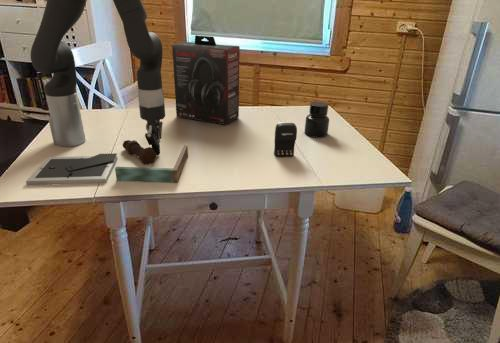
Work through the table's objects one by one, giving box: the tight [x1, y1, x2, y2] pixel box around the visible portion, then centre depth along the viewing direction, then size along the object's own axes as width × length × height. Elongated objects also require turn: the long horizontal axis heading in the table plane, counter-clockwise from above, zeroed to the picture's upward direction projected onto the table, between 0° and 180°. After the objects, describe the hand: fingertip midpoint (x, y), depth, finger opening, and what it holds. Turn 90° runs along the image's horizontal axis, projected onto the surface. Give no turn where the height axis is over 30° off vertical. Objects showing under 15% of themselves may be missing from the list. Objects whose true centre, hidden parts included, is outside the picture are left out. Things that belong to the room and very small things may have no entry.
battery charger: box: [273, 121, 298, 158], centre depth 119 cm, size 7×4×11 cm, turn 95°
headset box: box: [171, 34, 241, 126], centre depth 148 cm, size 24×13×33 cm, turn 67°
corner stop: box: [114, 144, 189, 184], centre depth 110 cm, size 17×18×4 cm
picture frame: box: [25, 152, 119, 186], centre depth 107 cm, size 16×3×21 cm
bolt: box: [122, 139, 158, 166], centre depth 117 cm, size 6×5×15 cm
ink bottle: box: [304, 101, 330, 138], centre depth 139 cm, size 10×9×12 cm
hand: (156, 154), depth 118 cm, fingers closed
